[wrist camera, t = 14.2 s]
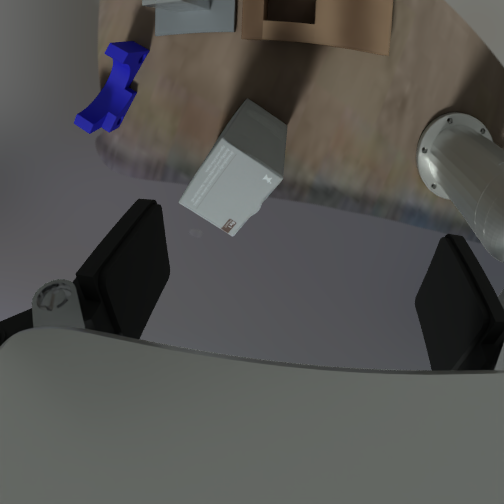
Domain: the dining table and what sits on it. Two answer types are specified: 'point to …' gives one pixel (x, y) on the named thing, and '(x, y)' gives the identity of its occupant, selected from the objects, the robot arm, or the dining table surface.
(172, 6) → the steel bar
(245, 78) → the dining table surface
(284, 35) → the wooden block with hole
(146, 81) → the dining table surface
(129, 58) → the cable clip
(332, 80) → the dining table surface
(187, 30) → the rubber mat
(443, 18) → the dining table surface
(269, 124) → the skincare box
